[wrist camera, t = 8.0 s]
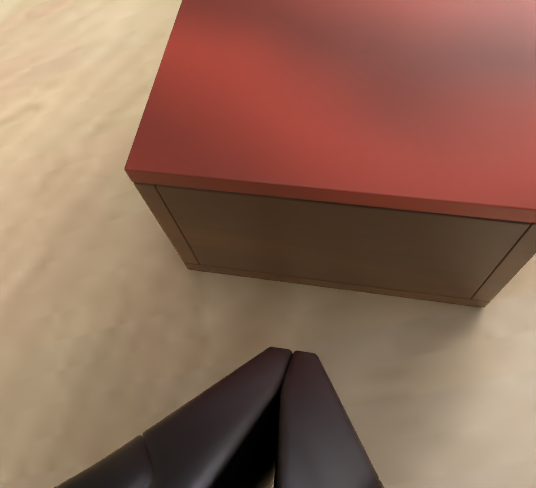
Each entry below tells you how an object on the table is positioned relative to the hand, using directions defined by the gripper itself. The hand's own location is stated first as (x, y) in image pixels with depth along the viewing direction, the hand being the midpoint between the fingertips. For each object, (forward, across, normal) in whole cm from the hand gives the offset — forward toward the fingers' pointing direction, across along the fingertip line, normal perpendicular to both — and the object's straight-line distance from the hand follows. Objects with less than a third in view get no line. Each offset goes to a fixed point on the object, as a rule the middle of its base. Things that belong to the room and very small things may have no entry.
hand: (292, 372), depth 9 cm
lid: (+13, 0, -6) cm, 14 cm away
